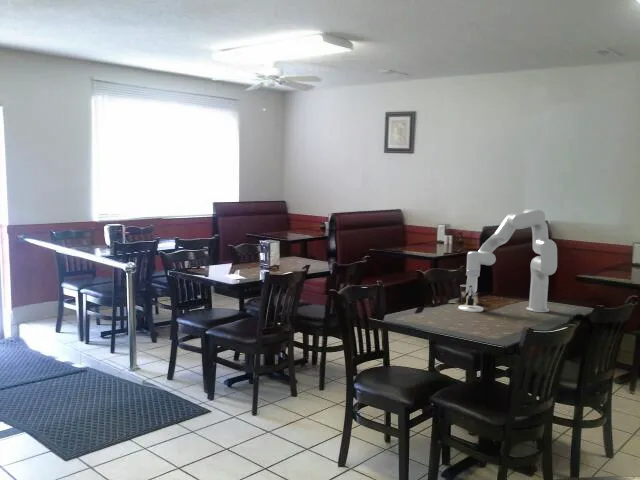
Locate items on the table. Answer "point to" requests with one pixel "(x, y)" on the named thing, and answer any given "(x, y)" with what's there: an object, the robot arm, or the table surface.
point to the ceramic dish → (470, 308)
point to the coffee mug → (464, 293)
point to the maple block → (473, 301)
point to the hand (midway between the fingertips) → (471, 304)
